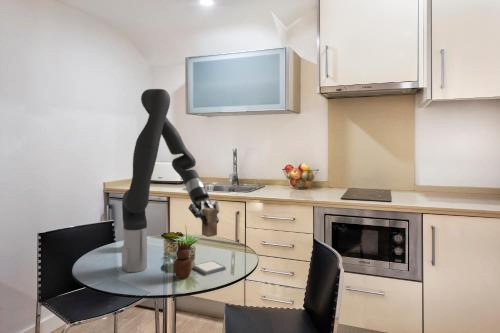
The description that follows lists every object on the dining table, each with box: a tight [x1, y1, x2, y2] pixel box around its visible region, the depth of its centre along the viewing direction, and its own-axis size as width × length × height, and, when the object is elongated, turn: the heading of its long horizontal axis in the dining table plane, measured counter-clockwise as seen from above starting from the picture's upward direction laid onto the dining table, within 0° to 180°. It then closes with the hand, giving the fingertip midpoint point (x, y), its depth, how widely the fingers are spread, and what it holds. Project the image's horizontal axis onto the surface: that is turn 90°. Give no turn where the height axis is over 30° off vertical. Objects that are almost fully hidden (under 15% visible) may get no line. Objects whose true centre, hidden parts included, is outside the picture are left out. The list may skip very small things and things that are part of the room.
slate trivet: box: [192, 260, 227, 276], centre depth 145 cm, size 10×10×1 cm
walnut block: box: [201, 208, 218, 238], centre depth 144 cm, size 4×4×11 cm
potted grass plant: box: [173, 239, 193, 279], centre depth 136 cm, size 7×6×15 cm
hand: (212, 223), depth 143 cm, fingers closed on walnut block, 4 cm apart
